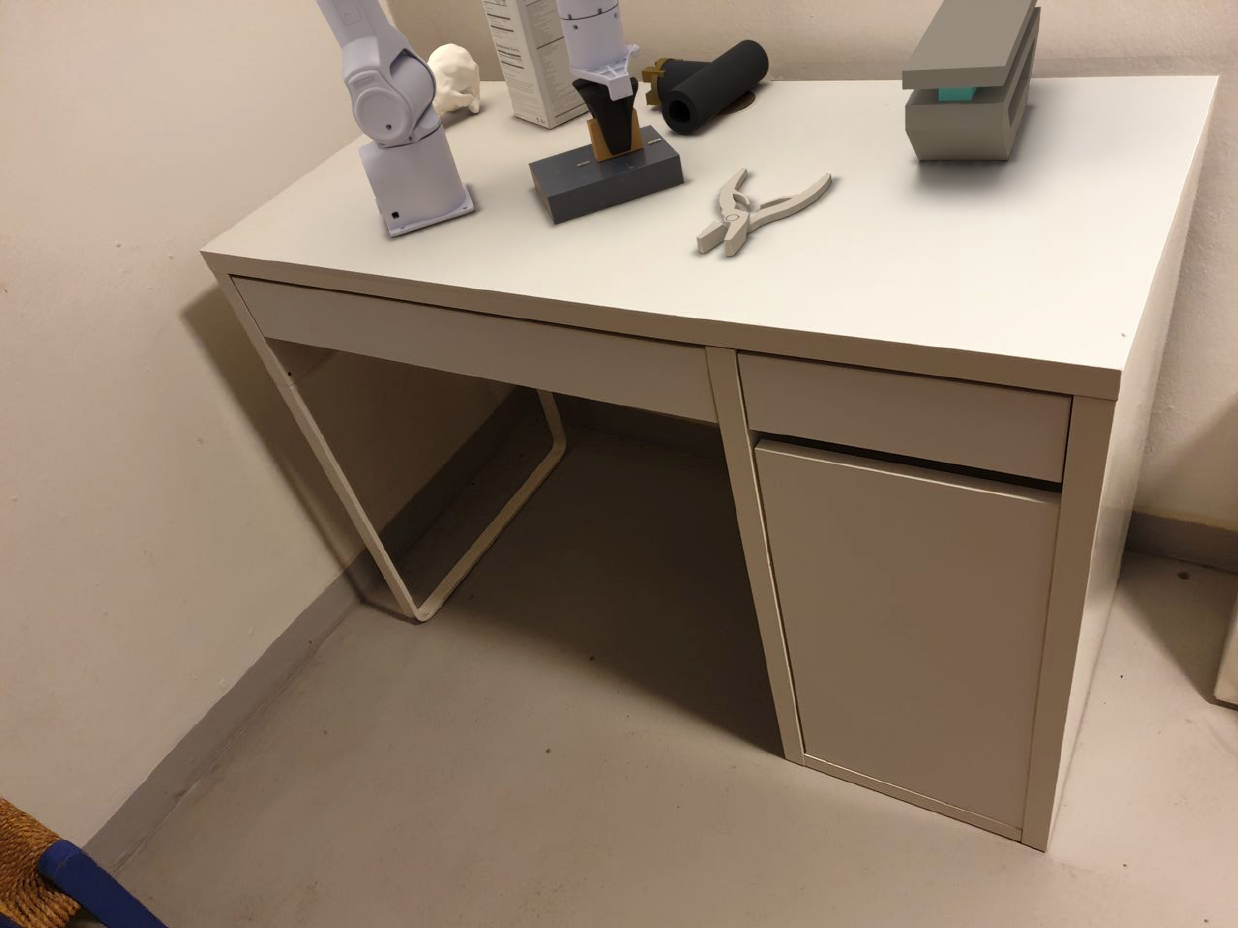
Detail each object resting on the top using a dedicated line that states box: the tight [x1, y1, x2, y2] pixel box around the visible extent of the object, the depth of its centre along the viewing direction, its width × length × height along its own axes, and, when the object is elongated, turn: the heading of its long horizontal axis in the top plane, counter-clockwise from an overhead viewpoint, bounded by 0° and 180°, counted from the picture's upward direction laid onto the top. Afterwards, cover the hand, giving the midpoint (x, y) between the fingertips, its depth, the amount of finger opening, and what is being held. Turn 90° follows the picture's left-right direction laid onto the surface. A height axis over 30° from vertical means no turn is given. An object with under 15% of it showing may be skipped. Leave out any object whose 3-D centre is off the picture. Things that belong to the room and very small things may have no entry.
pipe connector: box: [641, 39, 770, 136], centre depth 106 cm, size 12×5×15 cm
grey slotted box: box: [901, 0, 1042, 161], centre depth 84 cm, size 25×8×11 cm, turn 154°
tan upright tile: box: [586, 106, 643, 162], centre depth 92 cm, size 5×1×4 cm, turn 106°
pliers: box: [696, 168, 832, 257], centre depth 84 cm, size 10×2×15 cm
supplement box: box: [481, 0, 590, 130], centre depth 111 cm, size 10×9×17 cm
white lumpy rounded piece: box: [426, 43, 481, 116], centre depth 120 cm, size 6×8×12 cm
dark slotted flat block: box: [528, 124, 685, 225], centre depth 95 cm, size 14×10×3 cm
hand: (618, 148), depth 93 cm, fingers closed on tan upright tile
